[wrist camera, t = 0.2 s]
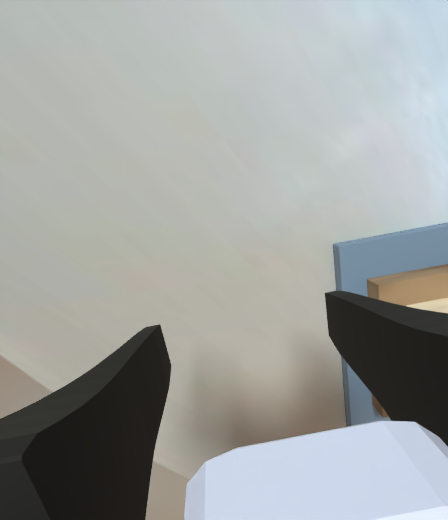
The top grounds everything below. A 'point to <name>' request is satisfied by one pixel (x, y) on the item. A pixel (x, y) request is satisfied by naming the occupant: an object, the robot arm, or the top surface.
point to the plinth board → (378, 264)
